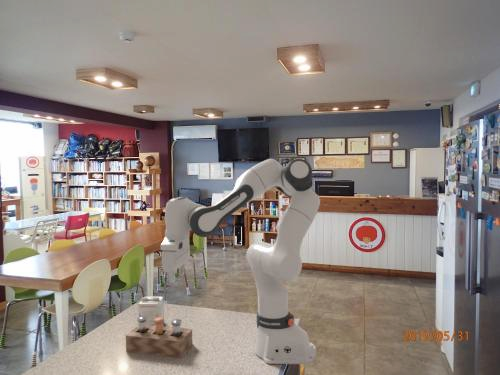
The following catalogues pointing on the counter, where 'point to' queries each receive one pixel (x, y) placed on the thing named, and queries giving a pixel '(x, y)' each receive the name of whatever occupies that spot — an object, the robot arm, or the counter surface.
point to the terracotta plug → (159, 325)
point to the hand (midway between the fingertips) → (177, 278)
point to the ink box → (151, 308)
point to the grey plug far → (142, 324)
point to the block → (159, 341)
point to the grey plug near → (176, 327)
